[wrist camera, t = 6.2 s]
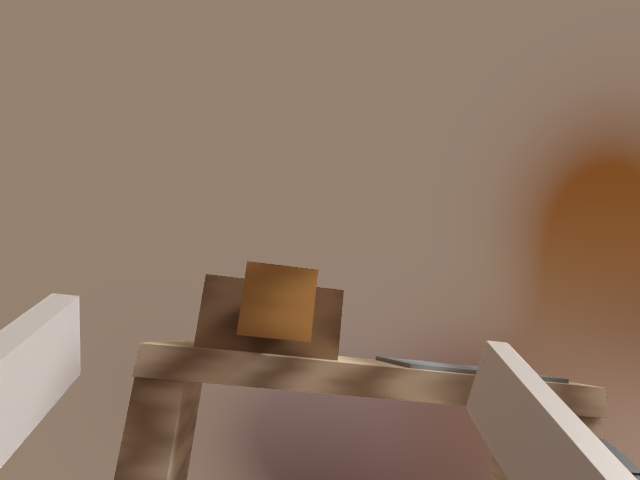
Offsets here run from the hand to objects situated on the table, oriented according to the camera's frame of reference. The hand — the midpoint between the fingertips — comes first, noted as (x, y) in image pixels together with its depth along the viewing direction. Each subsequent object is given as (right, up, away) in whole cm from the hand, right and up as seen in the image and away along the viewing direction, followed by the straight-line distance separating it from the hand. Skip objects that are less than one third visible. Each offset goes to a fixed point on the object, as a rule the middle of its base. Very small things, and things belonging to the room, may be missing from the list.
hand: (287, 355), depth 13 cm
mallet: (-2, -3, +11) cm, 11 cm away
